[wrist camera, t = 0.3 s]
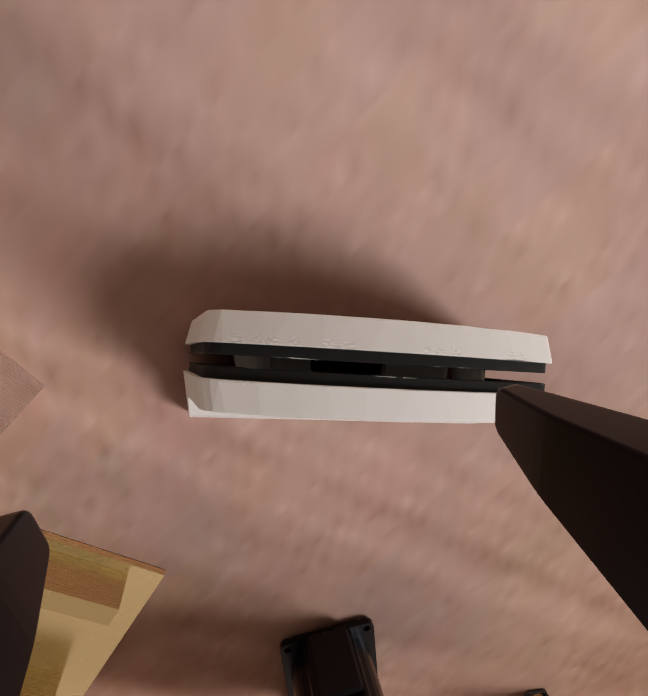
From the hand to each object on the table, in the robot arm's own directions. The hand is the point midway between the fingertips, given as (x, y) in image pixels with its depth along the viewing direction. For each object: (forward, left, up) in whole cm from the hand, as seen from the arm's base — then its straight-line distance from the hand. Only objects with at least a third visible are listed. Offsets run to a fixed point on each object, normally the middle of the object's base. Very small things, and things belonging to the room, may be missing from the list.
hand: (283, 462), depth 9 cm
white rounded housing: (-4, -5, -15) cm, 16 cm away
